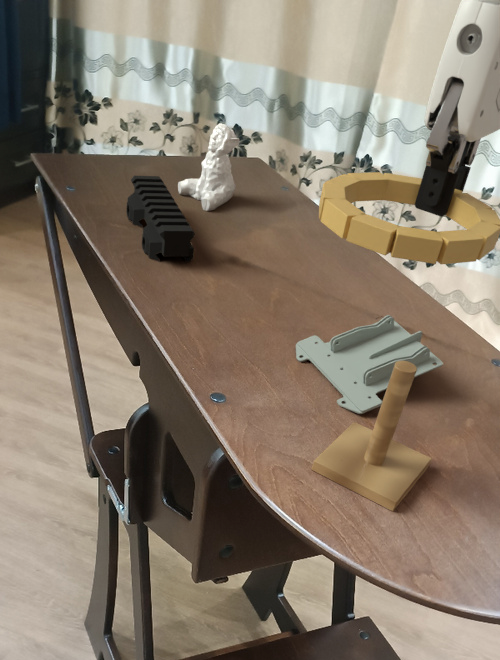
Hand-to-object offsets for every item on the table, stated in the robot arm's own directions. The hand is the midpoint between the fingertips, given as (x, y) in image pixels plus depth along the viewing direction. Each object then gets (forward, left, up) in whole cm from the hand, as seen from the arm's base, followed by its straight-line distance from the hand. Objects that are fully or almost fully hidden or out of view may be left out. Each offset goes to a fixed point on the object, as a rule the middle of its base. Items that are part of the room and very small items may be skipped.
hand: (435, 206), depth 70 cm
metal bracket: (+2, -2, -21) cm, 21 cm away
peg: (-6, +15, -21) cm, 26 cm away
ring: (0, +7, 0) cm, 7 cm away
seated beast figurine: (+48, -33, -21) cm, 62 cm away
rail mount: (+44, -14, -21) cm, 51 cm away
